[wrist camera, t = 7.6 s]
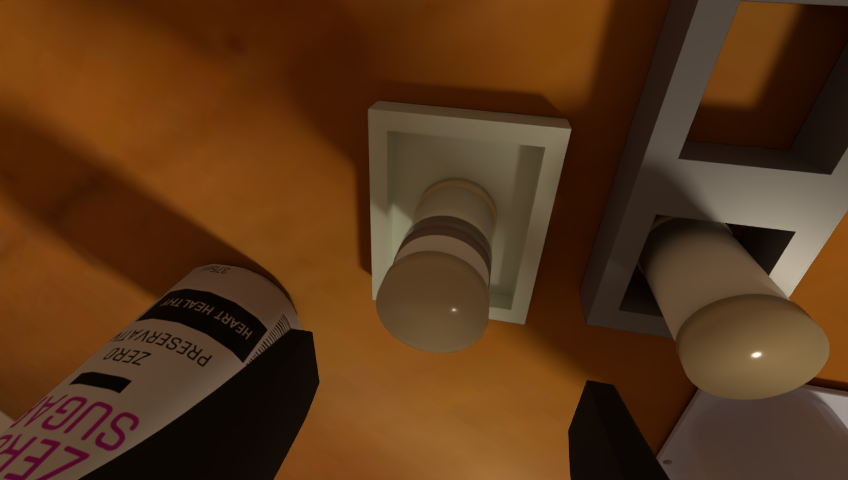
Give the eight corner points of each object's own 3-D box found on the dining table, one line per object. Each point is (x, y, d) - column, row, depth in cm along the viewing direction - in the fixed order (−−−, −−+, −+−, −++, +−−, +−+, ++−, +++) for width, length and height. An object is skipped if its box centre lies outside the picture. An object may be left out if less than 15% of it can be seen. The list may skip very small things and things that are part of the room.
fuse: (705, 281, 19) (788, 409, 13) (621, 269, 20) (665, 387, 14) (742, 210, 17) (859, 323, 11) (647, 199, 18) (712, 301, 12)
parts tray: (523, 305, 22) (524, 324, 21) (380, 282, 23) (372, 299, 22) (567, 118, 17) (571, 129, 15) (378, 100, 18) (367, 109, 16)
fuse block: (727, 313, 20) (752, 351, 18) (579, 290, 21) (586, 324, 19) (928, -32, 12) (1012, -37, 10) (684, -42, 13) (715, -49, 11)
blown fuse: (490, 254, 20) (479, 361, 14) (415, 242, 21) (375, 341, 15) (503, 184, 18) (497, 275, 12) (420, 172, 19) (376, 255, 13)
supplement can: (245, 366, 30) (44, 644, 17) (163, 280, 26) (-158, 542, 14) (330, 340, 26) (161, 658, 14) (249, 238, 23) (-67, 529, 11)
